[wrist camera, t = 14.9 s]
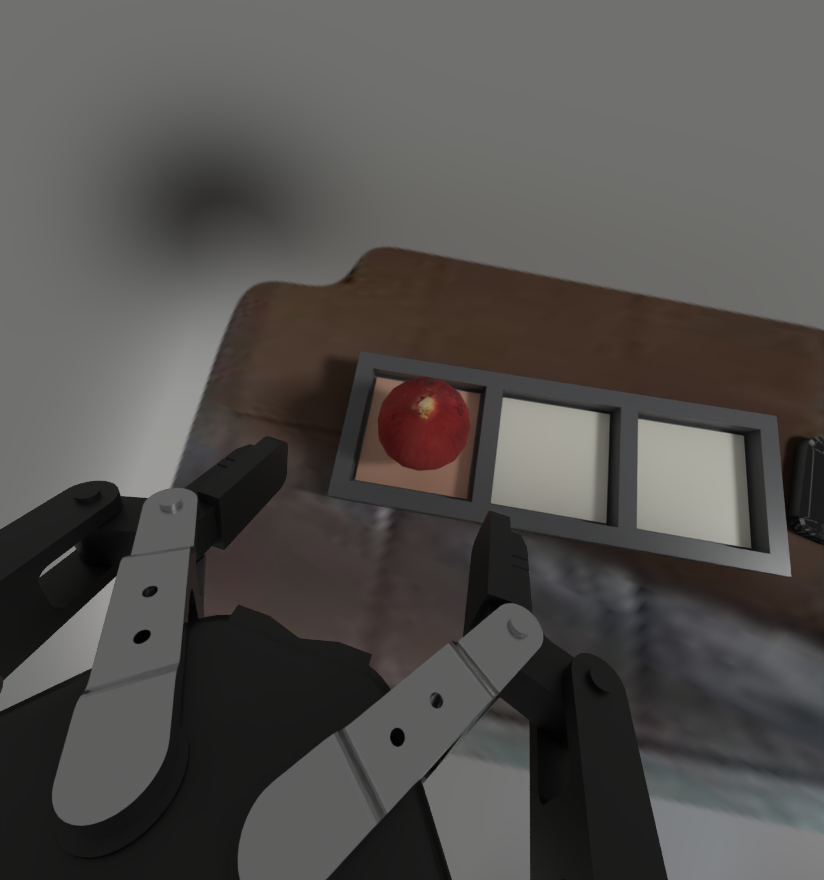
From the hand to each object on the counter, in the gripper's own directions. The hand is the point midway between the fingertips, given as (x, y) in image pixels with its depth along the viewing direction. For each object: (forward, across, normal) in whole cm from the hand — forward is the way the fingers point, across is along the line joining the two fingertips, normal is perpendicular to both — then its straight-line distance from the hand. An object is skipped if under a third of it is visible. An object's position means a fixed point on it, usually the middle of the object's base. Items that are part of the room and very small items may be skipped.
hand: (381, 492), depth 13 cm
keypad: (+14, -10, +4) cm, 17 cm away
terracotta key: (+12, 0, +4) cm, 13 cm away
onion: (+12, 0, +4) cm, 13 cm away
